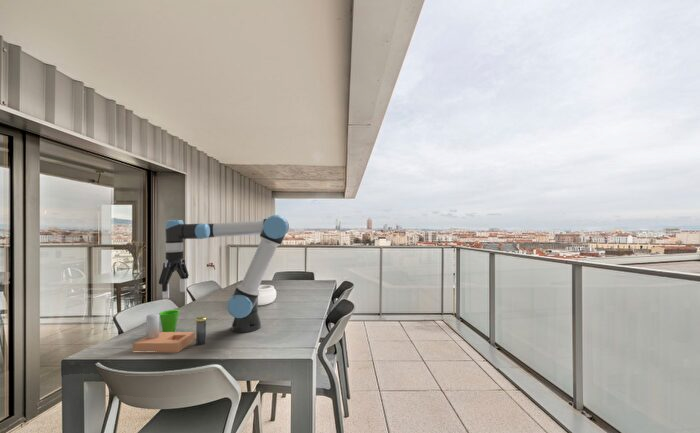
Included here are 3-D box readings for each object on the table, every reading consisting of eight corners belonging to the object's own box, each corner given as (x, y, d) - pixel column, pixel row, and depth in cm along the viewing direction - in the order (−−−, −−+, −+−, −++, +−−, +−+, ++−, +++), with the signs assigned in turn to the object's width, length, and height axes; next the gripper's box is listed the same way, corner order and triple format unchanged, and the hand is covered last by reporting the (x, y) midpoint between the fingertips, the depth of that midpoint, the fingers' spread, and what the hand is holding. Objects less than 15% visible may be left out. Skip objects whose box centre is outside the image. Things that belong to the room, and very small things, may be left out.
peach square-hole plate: (194, 340, 144) (195, 311, 145) (178, 352, 130) (178, 320, 131) (153, 340, 144) (154, 311, 145) (132, 352, 130) (133, 320, 131)
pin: (208, 341, 143) (208, 316, 143) (203, 345, 138) (203, 319, 139) (198, 341, 143) (198, 316, 143) (193, 345, 138) (193, 319, 139)
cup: (169, 337, 148) (170, 315, 149) (154, 336, 150) (154, 314, 150) (183, 331, 157) (183, 310, 157) (168, 330, 159) (168, 309, 159)
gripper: (181, 249, 159) (182, 289, 158) (149, 253, 134) (149, 301, 133) (195, 249, 158) (196, 289, 158) (165, 253, 133) (165, 301, 133)
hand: (174, 294), depth 145 cm, fingers open, 13 cm apart
